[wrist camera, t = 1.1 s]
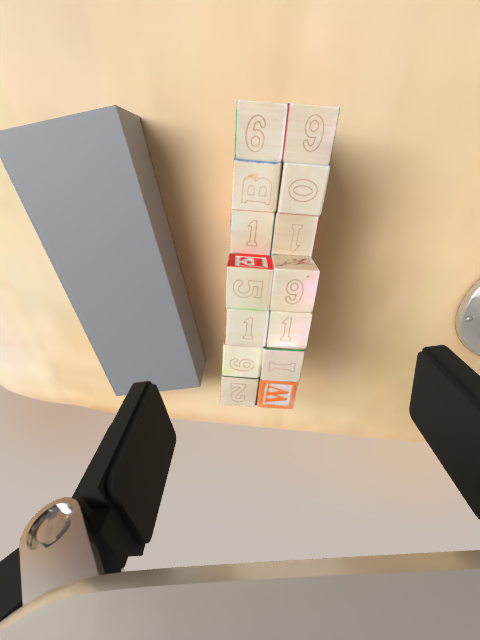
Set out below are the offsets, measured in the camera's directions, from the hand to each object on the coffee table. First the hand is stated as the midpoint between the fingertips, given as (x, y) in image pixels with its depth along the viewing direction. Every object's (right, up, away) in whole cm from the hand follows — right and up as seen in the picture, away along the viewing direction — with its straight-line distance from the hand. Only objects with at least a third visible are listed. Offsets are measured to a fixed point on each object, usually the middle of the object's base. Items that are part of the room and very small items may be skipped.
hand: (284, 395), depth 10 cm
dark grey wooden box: (-13, +8, +21) cm, 26 cm away
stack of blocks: (+1, +10, +19) cm, 22 cm away
